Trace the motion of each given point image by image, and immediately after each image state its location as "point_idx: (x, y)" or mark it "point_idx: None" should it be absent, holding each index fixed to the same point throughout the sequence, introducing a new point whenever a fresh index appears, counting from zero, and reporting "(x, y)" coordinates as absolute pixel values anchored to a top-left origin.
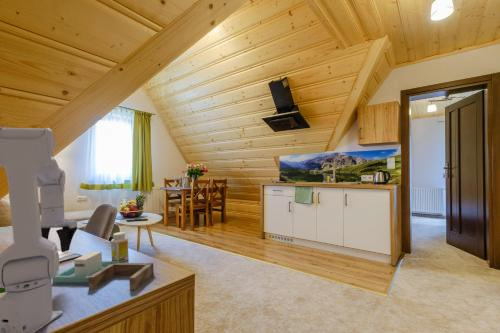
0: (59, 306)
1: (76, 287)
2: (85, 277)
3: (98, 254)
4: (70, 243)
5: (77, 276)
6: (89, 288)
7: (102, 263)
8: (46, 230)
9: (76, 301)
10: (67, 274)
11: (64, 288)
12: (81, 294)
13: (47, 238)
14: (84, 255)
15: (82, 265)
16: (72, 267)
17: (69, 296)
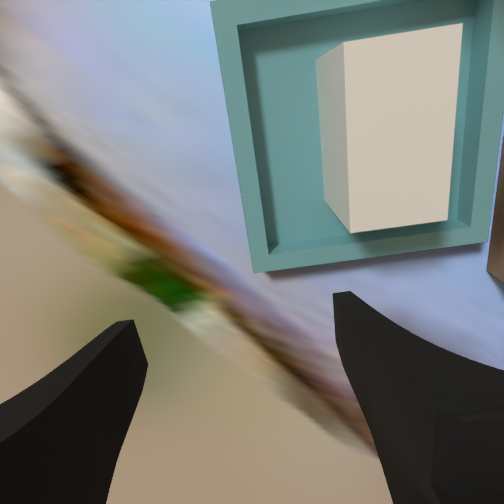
0: None
1: (410, 266)
2: (449, 245)
3: (454, 73)
4: (379, 314)
5: (393, 244)
6: (492, 272)
7: (379, 3)
8: (23, 491)
9: (499, 346)
10: (260, 192)
11: (359, 282)
12: (482, 306)
13: (80, 383)
14: (361, 143)
15: (415, 224)
16: (239, 144)
17: (441, 326)
